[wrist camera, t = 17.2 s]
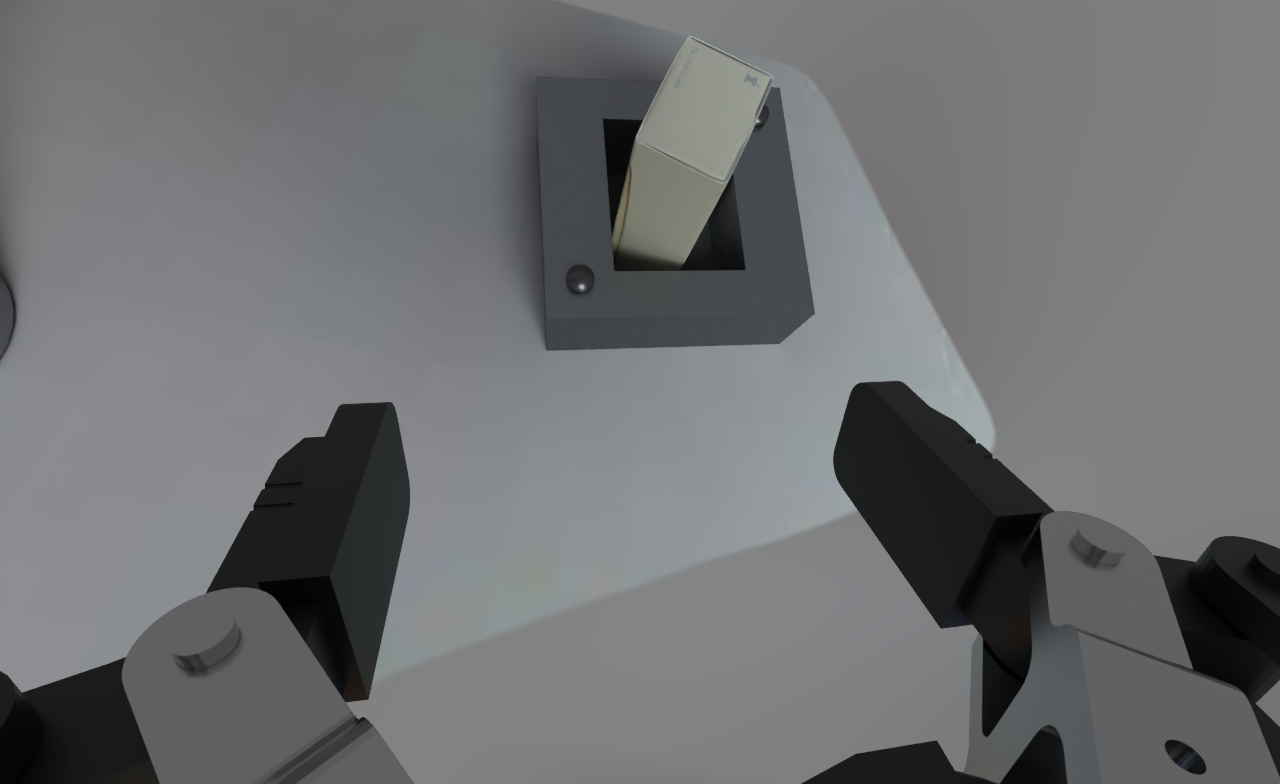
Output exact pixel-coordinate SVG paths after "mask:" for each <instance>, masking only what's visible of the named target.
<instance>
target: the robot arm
mask: <svg viewBox="0 0 1280 784" xmlns="http://www.w3.org/2000/svg"><path fill="white" fill-rule="evenodd" d="M12 327H13V304H12V300H11V296H10V292H9V290H8V288H7V286H6V284H5V283H4V281H3V279H2V277H1V276H0V357H1V355H2V353H3V351H4V350H5V348H6V346H7V344H8V341H9V337H10V334H11V331H12ZM833 463H834V470H835V474H836V477H837V480H838V482H839V484H840V485H841V487H842V488H843V490H844V491H845V492H846V494H847V495H848V497H849V498H850V500H851V501H852V502H853V504H854V505H855V507H856V508H857V510H858V511H859V512H860V514H861V515H862V517H863V518H864V519H865V521H866V522H867V524H868V525H869V527H870V528H871V529H872V531H873V532H874V534H875V535H876V536H877V538H878V540H879V541H880V542H881V544H882V545H883V547H884V548H885V550H886V551H887V552H888V554H889V555H890V557H891V558H892V560H893V561H894V562H895V564H896V565H897V566H898V568H899V570H900V571H901V572H902V574H903V575H904V577H905V578H906V580H907V581H908V582H909V584H910V585H911V587H912V588H913V590H914V591H915V592H916V594H917V595H918V597H919V598H920V600H921V601H922V602H923V604H924V605H925V607H926V608H927V610H928V611H929V612H930V614H931V615H932V617H933V618H934V620H935V621H936V622H937V624H938V625H939V627H940V628H941V629H942V628H950V627H957V626H965V625H974V627H975V628H976V629H977V631H978V632H979V634H978V636H977V638H976V639H975V641H974V643H973V646H972V654H971V688H970V689H971V690H970V721H969V723H970V724H969V749H968V757H967V761H966V766H965V769H964V772H963V773H962V772H957V771H954V769H953V767H952V765H951V764H950V762H949V761H948V759H947V757H946V755H945V754H944V752H943V750H942V748H941V747H940V745H939V743H938V742H937V741H931V742H925V743H919V744H913V745H907V746H901V747H895V748H889V749H883V750H877V751H871V752H865V753H859V754H855V755H853V756H851V757H850V758H848V759H846V760H844V761H842V762H840V763H839V764H837V765H835V766H833V767H831V768H830V769H827V770H826V771H824V772H822V773H820V774H818V775H816V776H815V777H813V778H811V779H809V780H807V781H805V782H804V783H802V784H1280V727H1279V726H1278V725H1277V724H1276V723H1275V722H1274V721H1273V720H1272V719H1271V718H1270V717H1269V716H1268V715H1267V714H1266V713H1265V712H1264V711H1263V710H1262V709H1260V708H1259V707H1258V706H1257V705H1256V704H1255V703H1256V702H1257V701H1258V700H1260V699H1261V698H1262V697H1263V695H1265V694H1266V693H1267V692H1268V691H1269V690H1270V689H1271V688H1272V687H1273V686H1274V685H1275V684H1276V683H1277V682H1278V681H1279V680H1280V549H1279V548H1276V547H1274V546H1271V545H1269V544H1266V543H1263V542H1260V541H1256V540H1253V539H1248V538H1243V537H1236V536H1224V537H1219V538H1216V539H1215V540H1213V541H1212V542H1211V544H1210V545H1209V546H1208V547H1207V549H1206V550H1205V551H1204V553H1203V554H1202V555H1201V556H1200V558H1199V559H1198V560H1197V562H1192V561H1186V560H1180V559H1173V558H1166V557H1160V556H1154V555H1152V553H1151V552H1150V551H1149V550H1148V549H1147V548H1146V547H1145V546H1144V545H1143V544H1142V543H1141V542H1139V541H1138V540H1137V539H1136V538H1134V537H1133V536H1132V535H1130V534H1129V533H1127V532H1125V531H1124V530H1122V529H1120V528H1119V527H1117V526H1115V525H1113V524H1111V523H1108V522H1106V521H1104V520H1102V519H1099V518H1096V517H1093V516H1090V515H1086V514H1083V513H1077V512H1070V511H1058V512H1055V511H1054V510H1052V509H1051V508H1050V507H1049V506H1048V505H1047V504H1046V503H1045V502H1044V501H1043V500H1042V499H1040V498H1039V497H1038V496H1037V495H1036V494H1035V493H1034V492H1033V491H1032V490H1031V489H1029V488H1028V487H1027V486H1026V485H1025V484H1024V483H1023V482H1022V481H1020V479H1019V478H1017V477H1016V476H1015V475H1014V474H1013V473H1012V472H1011V471H1010V470H1009V469H1008V468H1006V467H1005V466H1004V465H1003V464H1002V463H1001V462H1000V461H999V460H998V459H993V458H992V454H991V453H990V452H989V451H988V450H987V449H986V448H984V447H983V446H982V445H981V444H980V443H978V444H976V439H975V438H973V437H972V436H971V435H970V434H969V433H968V432H967V431H966V430H965V429H964V428H962V427H961V426H960V425H959V424H958V423H957V422H956V421H954V420H952V419H951V418H949V417H947V416H945V415H943V414H942V413H940V412H938V411H936V410H934V409H933V408H931V407H929V406H928V405H927V404H926V403H925V402H924V401H923V400H922V399H921V398H920V397H919V396H917V395H916V394H915V393H914V392H913V391H912V390H911V389H910V388H909V387H908V386H907V385H906V384H904V383H903V382H900V381H887V382H864V383H859V384H857V385H856V386H855V387H854V388H853V389H852V391H851V394H850V397H849V400H848V404H847V407H846V411H845V414H844V418H843V421H842V425H841V428H840V432H839V435H838V439H837V442H836V446H835V450H834V456H833ZM253 506H254V510H253V511H250V513H249V515H248V516H247V518H246V520H245V522H244V524H243V526H242V528H241V529H240V531H239V533H238V535H237V537H236V539H235V540H234V542H233V544H232V546H231V548H230V550H229V551H228V553H227V555H226V557H225V559H224V561H223V563H222V564H221V566H220V568H219V570H218V572H217V574H216V575H215V577H214V579H213V581H212V583H211V585H210V586H209V588H208V590H207V592H206V594H204V595H201V596H198V597H196V598H194V599H191V600H189V601H187V602H185V603H183V604H181V605H179V606H177V607H176V608H174V609H172V610H171V611H169V612H168V613H166V614H165V615H163V616H162V617H160V618H159V619H158V620H157V621H156V622H154V623H153V624H152V625H151V626H150V627H149V628H148V629H147V630H146V631H145V632H144V633H143V634H142V635H141V636H140V637H139V638H138V640H137V641H136V642H135V643H134V645H133V646H132V648H131V649H130V651H129V653H128V655H127V656H126V657H125V658H122V659H120V660H117V661H114V662H112V663H109V664H106V665H103V666H100V667H97V668H94V669H91V670H88V671H85V672H82V673H79V674H77V675H74V676H71V677H68V678H65V679H62V680H59V681H56V682H53V683H50V684H47V685H44V686H41V687H38V688H35V689H32V690H29V691H26V692H23V693H22V692H21V691H20V690H19V689H18V687H17V686H16V685H15V684H14V683H13V681H12V680H11V679H10V678H9V677H8V676H7V675H6V674H4V673H2V672H1V671H0V784H414V783H413V781H412V780H411V779H410V777H409V776H408V774H407V773H406V772H405V770H404V769H403V767H402V765H401V764H400V763H399V761H398V760H397V758H396V757H395V755H394V754H393V752H391V750H390V748H389V747H388V746H387V744H386V742H385V741H384V740H383V738H382V737H381V735H380V734H379V732H378V731H377V730H376V729H375V727H374V726H373V725H372V724H371V723H370V722H369V721H368V720H367V719H366V718H364V717H362V718H361V719H359V720H358V719H357V718H356V716H355V715H354V714H353V713H352V711H351V710H350V708H349V707H348V705H347V704H346V702H352V701H360V700H368V699H369V694H370V690H371V685H372V681H373V676H374V671H375V667H376V662H377V658H378V653H379V648H380V644H381V639H382V635H383V630H384V626H385V621H386V616H387V612H388V607H389V603H390V598H391V593H392V589H393V584H394V580H395V575H396V570H397V566H398V561H399V557H400V552H401V547H402V543H403V538H404V534H405V529H406V525H407V520H408V515H409V507H410V485H409V477H408V471H407V466H406V461H405V455H404V450H403V445H402V439H401V434H400V429H399V423H398V418H397V413H396V410H395V407H394V405H393V403H391V402H383V403H360V404H342V405H340V406H339V407H338V409H337V411H336V413H335V415H334V418H333V420H332V422H331V424H330V426H329V428H328V431H327V433H326V435H325V437H310V438H304V439H303V440H301V441H300V442H299V443H298V444H296V445H295V446H294V447H293V448H292V449H290V450H289V451H288V452H287V453H286V454H284V455H283V456H282V457H281V458H280V459H278V461H277V463H276V465H275V467H274V469H273V470H272V472H271V474H270V476H269V478H268V480H267V481H266V483H265V489H262V491H261V492H260V494H259V496H258V498H257V500H256V502H255V504H254V505H253Z"/></svg>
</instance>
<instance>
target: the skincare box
mask: <svg viewBox="0 0 1280 784" xmlns="http://www.w3.org/2000/svg"><path fill="white" fill-rule="evenodd" d="M773 81H774V76H773V75H771V74H769V73H767V72H764V71H763V70H761V69H759V68H757V67H755V66H753V65H751V64H749V63H747V62H745V61H743V60H741V59H739V58H737V57H735V56H733V55H731V54H729V53H727V52H725V51H723V50H721V49H719V48H717V47H715V46H712V45H710V44H708V43H706V42H704V41H702V40H700V39H698V38H696V37H694V36H688V37H687V39H686V40H685V42H684V43H683V45H682V47H681V49H680V50H679V52H678V53H677V55H676V57H675V59H674V61H673V63H672V64H671V66H670V68H669V70H668V72H667V74H666V76H665V78H664V80H663V81H662V84H661V86H660V87H659V89H658V91H657V93H656V95H655V97H654V99H653V101H652V103H651V105H650V107H649V109H648V112H647V114H646V116H645V118H644V120H643V122H642V124H641V126H640V129H639V131H638V133H637V135H636V137H635V141H634V145H633V149H632V153H631V157H630V162H629V166H628V170H627V174H626V178H625V183H624V187H623V191H622V195H621V199H620V204H619V208H618V212H617V216H616V220H615V224H614V228H613V233H612V249H613V263H614V269H615V270H617V271H680V270H681V269H682V267H683V265H684V263H685V261H686V259H687V257H688V256H689V254H690V252H691V250H692V248H693V246H694V244H695V243H696V241H697V239H698V237H699V235H700V233H701V231H702V230H703V228H704V226H705V224H706V222H707V220H708V219H709V217H710V215H711V213H712V211H713V209H714V207H715V206H716V204H717V202H718V200H719V198H720V196H721V194H722V193H723V191H724V189H725V187H726V185H727V183H728V181H729V179H730V177H731V175H732V173H733V171H734V169H735V167H736V165H737V163H738V161H739V159H740V157H741V154H742V152H743V150H744V148H745V146H746V144H747V142H748V140H749V137H750V135H751V133H752V131H753V128H754V126H755V124H756V121H757V119H758V117H759V115H760V112H761V110H762V108H763V105H764V103H765V100H766V98H767V96H768V93H769V91H770V88H771V86H772V84H773Z"/></svg>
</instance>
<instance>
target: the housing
mask: <svg viewBox="0 0 1280 784" xmlns="http://www.w3.org/2000/svg"><path fill="white" fill-rule="evenodd" d="M661 84H662V82H641V81H619V80H597V79H575V78H553V77H536V107H537V142H538V165H539V187H540V210H541V232H542V255H543V277H544V300H545V322H546V345H547V350H581V349H615V348H650V347H684V346H718V345H752V344H780V343H781V342H782V341H783V340H784V339H785V338H787V337H788V336H789V335H790V334H791V333H793V332H794V331H795V330H796V329H797V328H798V327H800V326H801V325H802V324H803V323H804V322H805V321H807V320H808V319H809V318H810V317H811V316H813V315H814V314H815V311H814V305H813V298H812V292H811V286H810V279H809V273H808V266H807V260H806V254H805V247H804V241H803V234H802V228H801V222H800V215H799V209H798V203H797V196H796V190H795V183H794V177H793V171H792V164H791V158H790V151H789V145H788V139H787V132H786V126H785V120H784V113H783V107H782V100H781V94H780V88H773V87H771V88H770V91H769V93H768V96H767V98H766V100H765V103H764V105H763V108H762V110H761V112H760V115H759V117H758V119H757V121H756V124H755V126H754V128H753V131H752V133H751V135H750V137H749V140H748V142H747V144H746V146H745V148H744V150H743V152H742V154H741V157H740V159H739V161H738V163H737V165H736V167H735V169H734V171H733V173H732V175H731V177H730V179H729V181H728V183H727V185H726V187H725V189H724V191H723V193H722V194H721V196H720V198H719V200H718V202H717V204H716V206H715V207H714V209H713V211H712V213H711V215H710V217H709V221H710V230H711V239H712V247H713V256H714V264H715V271H614V263H613V249H612V236H611V222H610V209H609V195H608V182H607V174H627V170H628V166H629V162H630V157H631V153H632V149H633V145H634V141H635V137H636V135H637V133H638V131H639V129H640V126H641V124H642V122H643V120H644V118H645V116H646V114H647V112H648V109H649V107H650V105H651V103H652V101H653V99H654V97H655V95H656V93H657V91H658V89H659V87H660V86H661Z"/></svg>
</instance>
